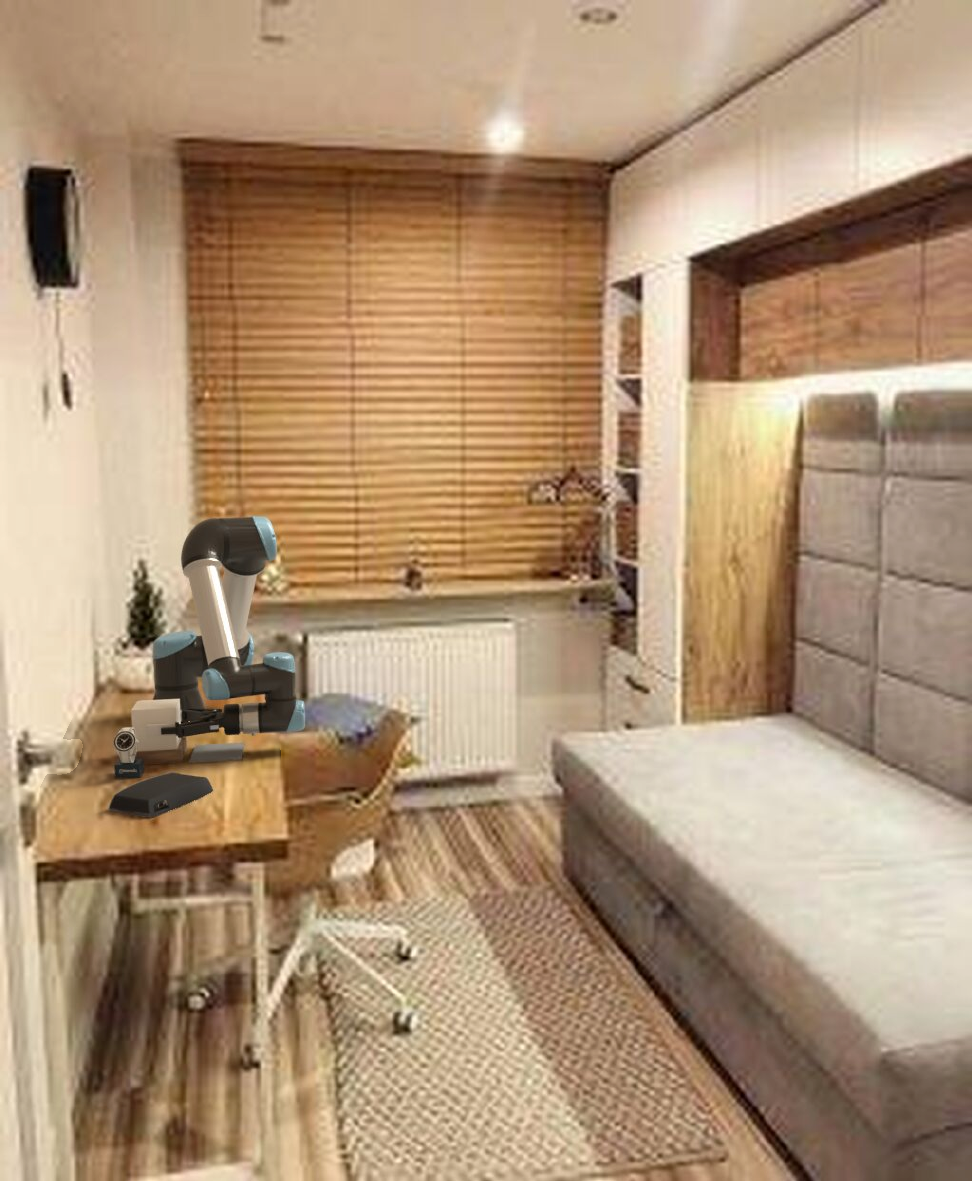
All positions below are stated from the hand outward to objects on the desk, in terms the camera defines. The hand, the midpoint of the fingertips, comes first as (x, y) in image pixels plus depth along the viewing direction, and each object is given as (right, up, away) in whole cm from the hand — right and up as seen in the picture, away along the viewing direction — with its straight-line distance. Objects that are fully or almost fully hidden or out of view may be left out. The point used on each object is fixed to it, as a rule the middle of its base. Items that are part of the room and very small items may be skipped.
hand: (150, 723), depth 268 cm
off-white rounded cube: (+1, -5, +1) cm, 6 cm away
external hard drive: (+12, -13, -32) cm, 36 cm away
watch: (-1, -10, -13) cm, 17 cm away
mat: (+15, -8, +4) cm, 18 cm away
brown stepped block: (+1, -8, +2) cm, 9 cm away
